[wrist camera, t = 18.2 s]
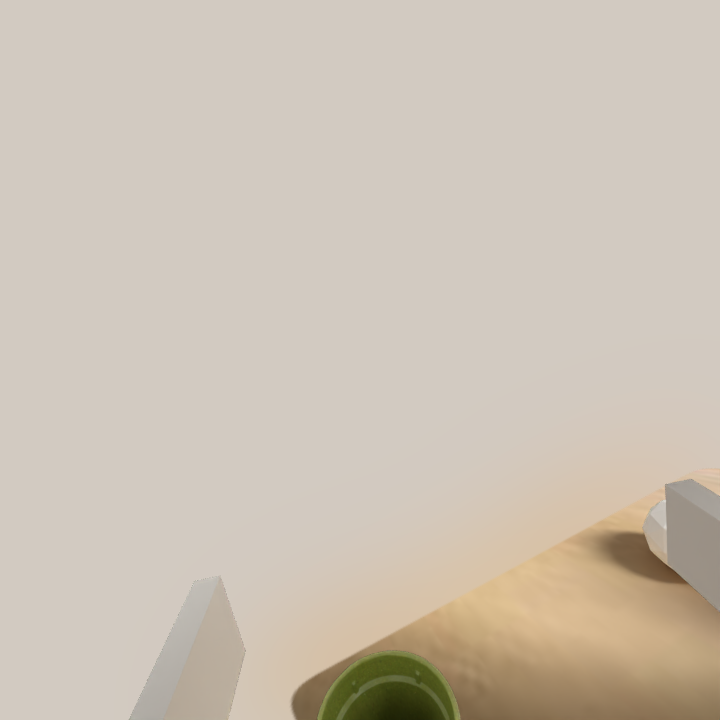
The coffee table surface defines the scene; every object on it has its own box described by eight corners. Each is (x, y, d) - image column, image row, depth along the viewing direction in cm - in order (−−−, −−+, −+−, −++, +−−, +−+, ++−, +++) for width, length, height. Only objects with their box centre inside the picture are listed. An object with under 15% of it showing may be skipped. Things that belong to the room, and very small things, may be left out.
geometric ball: (700, 601, 43) (703, 584, 38) (629, 540, 49) (623, 519, 44) (752, 552, 43) (761, 530, 38) (674, 498, 49) (674, 472, 44)
